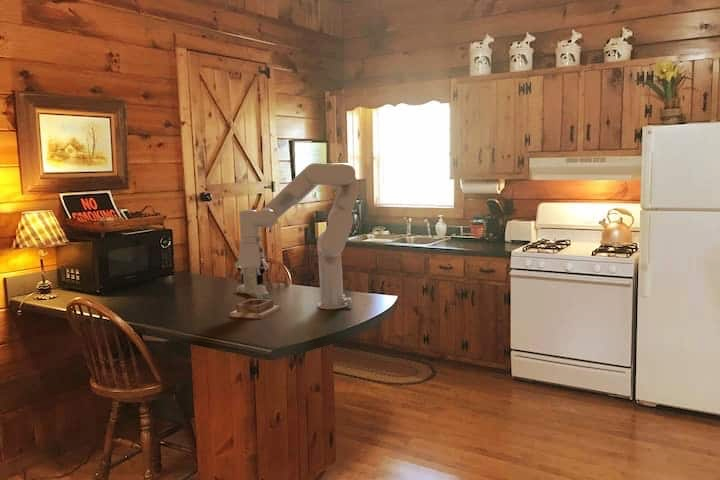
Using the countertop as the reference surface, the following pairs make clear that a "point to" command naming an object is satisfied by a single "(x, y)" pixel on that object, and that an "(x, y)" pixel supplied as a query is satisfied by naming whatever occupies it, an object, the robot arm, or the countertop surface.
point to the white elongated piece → (259, 295)
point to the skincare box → (251, 280)
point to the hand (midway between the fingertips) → (252, 283)
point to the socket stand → (255, 308)
